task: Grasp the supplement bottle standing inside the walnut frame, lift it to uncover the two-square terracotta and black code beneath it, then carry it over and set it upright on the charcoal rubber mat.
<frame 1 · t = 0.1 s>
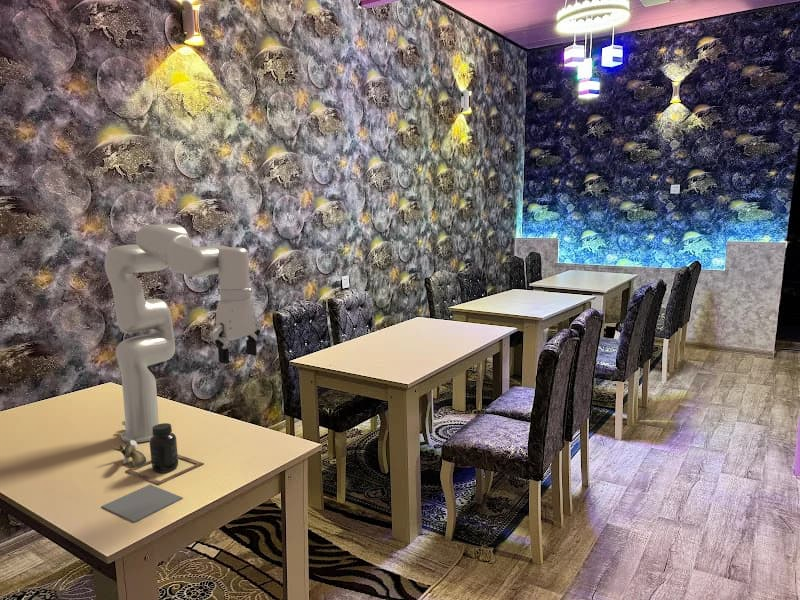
hand: (238, 358, 154), 31 cm above the table, tool pointing down, fingers open, 9 cm apart
code frame: (165, 467, 159), on the table
supplement bottle: (165, 468, 159), on the table, touching code frame
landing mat: (142, 502, 141), on the table
eagle figurine: (131, 463, 163), on the table, touching code frame
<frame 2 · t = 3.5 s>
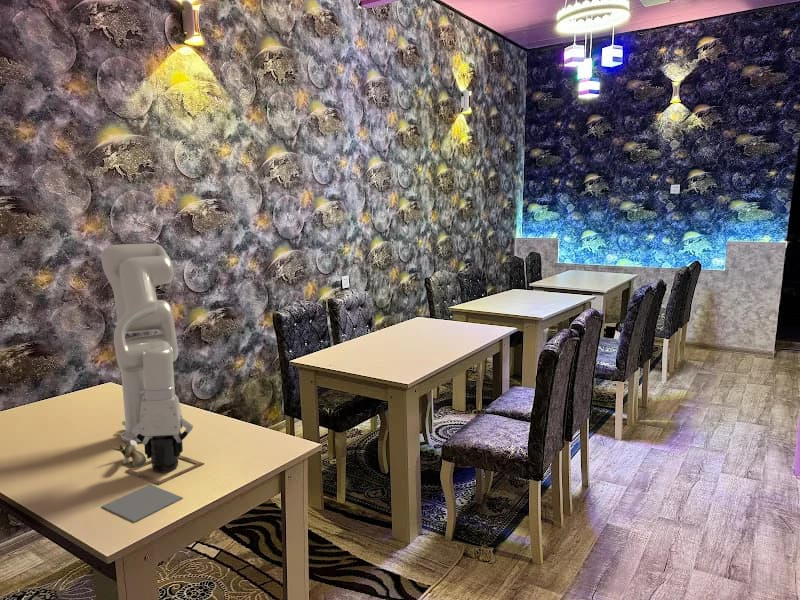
hand: (164, 455, 159), 4 cm above the table, tool pointing down, fingers closed on supplement bottle, 6 cm apart
supplement bottle: (165, 468, 159), on the table, touching code frame, gripper
everything else where it was.
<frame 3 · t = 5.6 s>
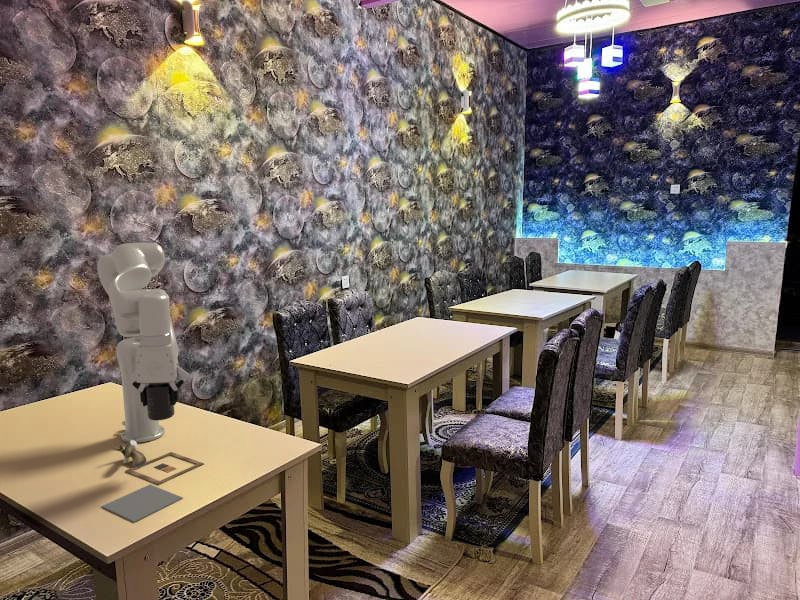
hand: (160, 403, 157), 18 cm above the table, tool pointing down, fingers closed on supplement bottle, 6 cm apart
supplement bottle: (161, 417, 157), point 15 cm above the table, touching gripper
everything else where it was.
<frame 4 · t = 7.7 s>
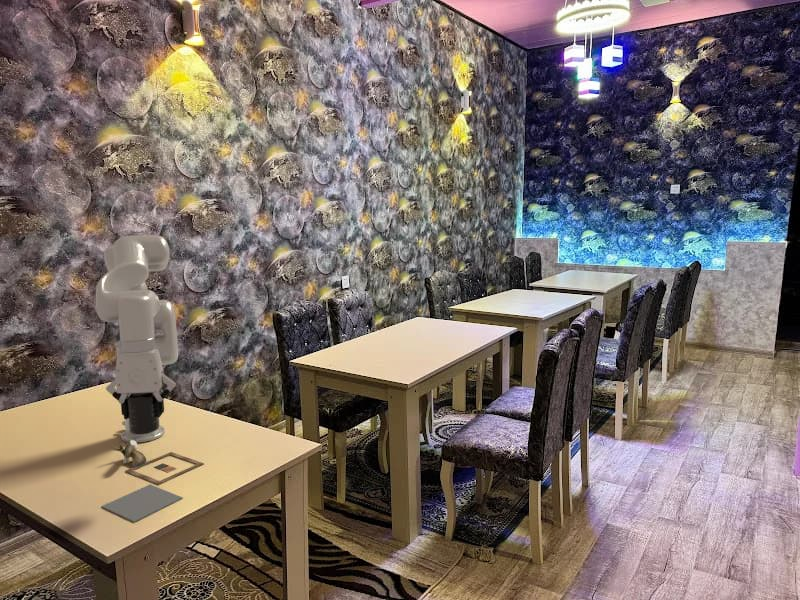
hand: (143, 416, 142), 20 cm above the table, tool pointing down, fingers closed on supplement bottle, 6 cm apart
supplement bottle: (144, 430, 143), point 16 cm above the table, touching gripper
everything else where it was.
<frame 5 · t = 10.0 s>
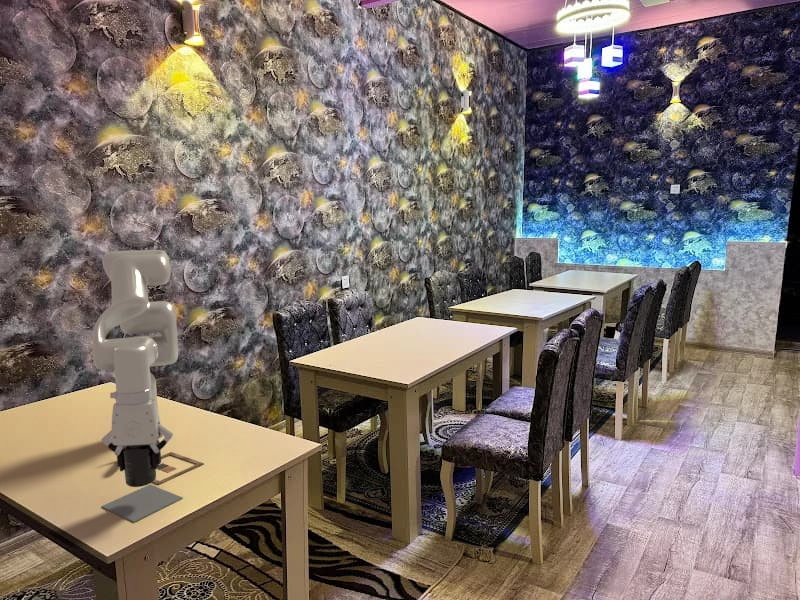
hand: (140, 467, 139), 9 cm above the table, tool pointing down, fingers closed on supplement bottle, 6 cm apart
supplement bottle: (141, 482, 140), point 5 cm above the table, touching gripper
everything else where it was.
when the fingers open (5 cm above the table, at t = 11.8 s): supplement bottle drops 1 cm, resting on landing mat.
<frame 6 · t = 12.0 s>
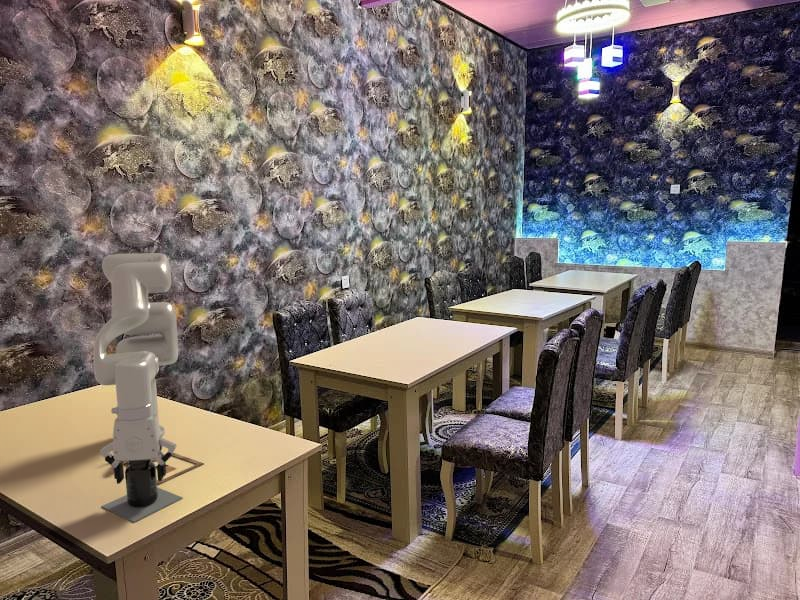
hand: (140, 479, 140), 6 cm above the table, tool pointing down, fingers open, 9 cm apart
supplement bottle: (142, 501, 141), resting on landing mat
everything else where it was.
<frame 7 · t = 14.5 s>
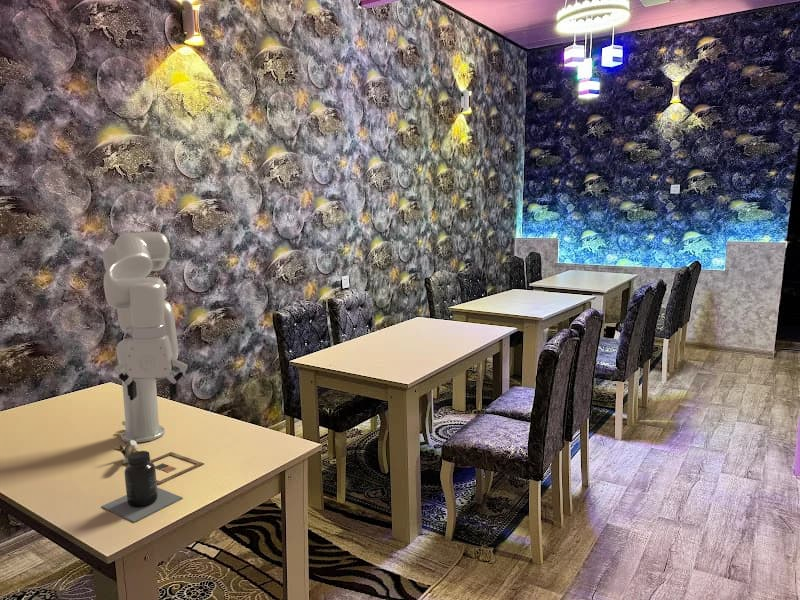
hand: (153, 397, 146), 23 cm above the table, tool pointing down, fingers open, 9 cm apart
nothing on the table moved.
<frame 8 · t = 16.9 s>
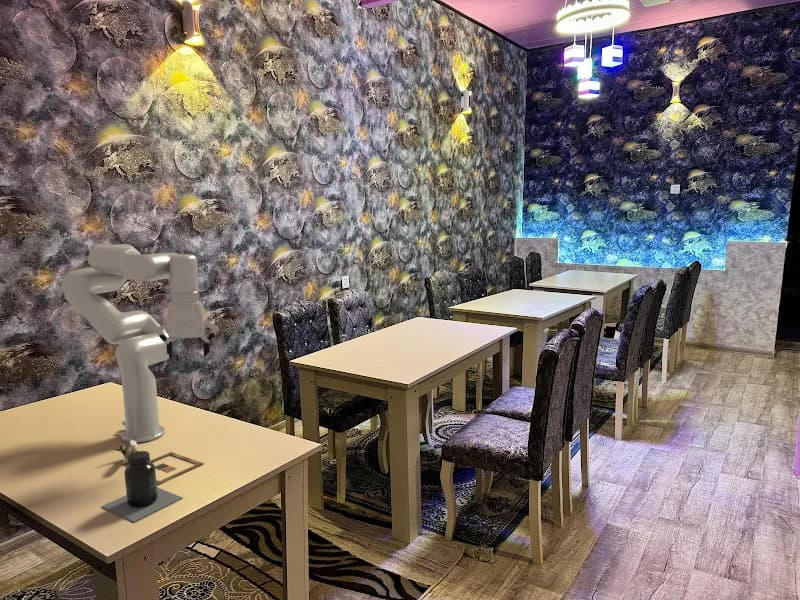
hand: (188, 356, 168), 28 cm above the table, tool pointing down, fingers open, 9 cm apart
nothing on the table moved.
at the end: supplement bottle 0.2 cm off-centre on the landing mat, point 0.1 cm above the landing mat's base; supplement bottle tilted 0°; the gripper is holding nothing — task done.
